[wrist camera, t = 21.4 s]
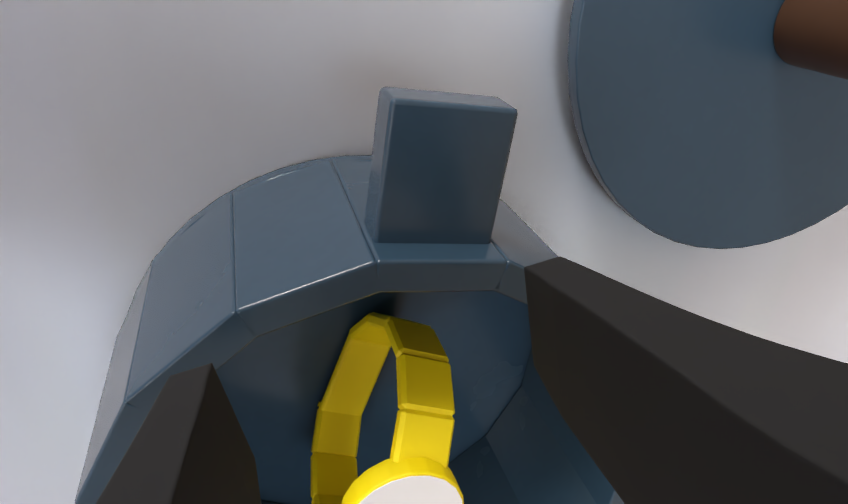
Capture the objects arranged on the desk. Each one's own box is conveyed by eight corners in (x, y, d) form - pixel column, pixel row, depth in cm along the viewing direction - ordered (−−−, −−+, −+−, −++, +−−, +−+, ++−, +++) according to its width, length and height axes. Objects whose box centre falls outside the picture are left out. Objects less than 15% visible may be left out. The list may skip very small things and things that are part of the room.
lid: (508, 231, 19) (580, 311, 15) (648, -391, 13) (831, -523, 9) (851, 237, 23) (976, 300, 19) (1078, -224, 17) (1326, -265, 13)
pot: (139, 584, 21) (112, 795, 16) (94, 16, 13) (13, 78, 8) (489, 533, 25) (556, 689, 20) (615, 74, 17) (779, 139, 12)
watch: (361, 445, 20) (406, 619, 15) (279, 435, 19) (298, 619, 14) (435, 293, 18) (515, 435, 13) (348, 271, 17) (400, 418, 12)
